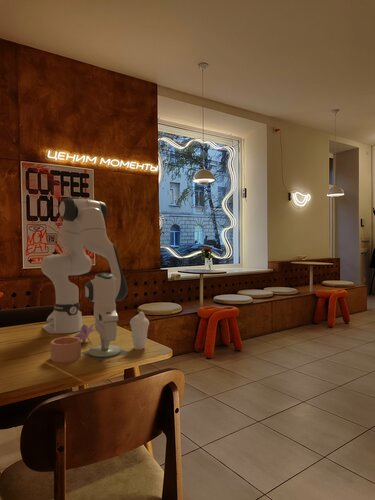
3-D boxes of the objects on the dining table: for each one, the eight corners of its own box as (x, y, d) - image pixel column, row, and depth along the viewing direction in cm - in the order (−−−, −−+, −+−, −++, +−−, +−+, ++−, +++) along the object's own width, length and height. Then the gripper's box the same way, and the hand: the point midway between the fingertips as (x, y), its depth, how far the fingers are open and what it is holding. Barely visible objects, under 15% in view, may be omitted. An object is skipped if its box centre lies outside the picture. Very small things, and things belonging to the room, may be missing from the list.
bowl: (45, 358, 139) (45, 340, 139) (71, 352, 148) (71, 335, 147) (59, 365, 132) (59, 346, 132) (86, 358, 140) (86, 340, 140)
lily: (99, 342, 166) (90, 323, 167) (105, 338, 156) (96, 318, 158) (75, 354, 159) (66, 335, 161) (80, 351, 150) (70, 330, 151)
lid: (82, 351, 146) (82, 340, 146) (108, 344, 155) (108, 334, 155) (100, 359, 137) (100, 347, 137) (127, 351, 147) (127, 340, 146)
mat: (80, 353, 146) (80, 352, 146) (109, 346, 156) (109, 345, 156) (100, 361, 136) (100, 360, 136) (129, 353, 146) (129, 352, 146)
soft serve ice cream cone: (130, 352, 148) (130, 313, 147) (128, 346, 156) (128, 310, 155) (150, 350, 150) (150, 312, 150) (147, 344, 158) (147, 309, 158)
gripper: (91, 308, 153) (91, 340, 154) (103, 318, 135) (103, 354, 136) (106, 307, 156) (106, 338, 157) (119, 317, 138) (119, 352, 139)
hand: (104, 346), depth 146 cm, fingers closed on lid, 3 cm apart
